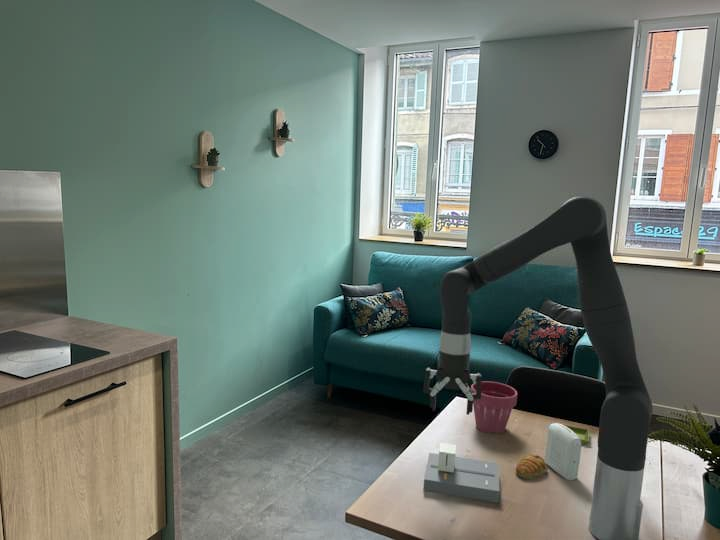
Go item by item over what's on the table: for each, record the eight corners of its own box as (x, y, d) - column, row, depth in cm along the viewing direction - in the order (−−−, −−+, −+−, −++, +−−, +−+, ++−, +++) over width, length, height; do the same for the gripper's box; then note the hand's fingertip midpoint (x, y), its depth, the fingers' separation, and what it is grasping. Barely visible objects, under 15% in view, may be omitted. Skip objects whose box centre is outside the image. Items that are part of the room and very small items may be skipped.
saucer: (588, 447, 159) (589, 440, 159) (557, 440, 163) (558, 434, 162) (588, 435, 167) (589, 429, 167) (559, 429, 171) (559, 423, 170)
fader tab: (454, 463, 138) (456, 444, 138) (453, 472, 134) (455, 454, 133) (439, 460, 139) (440, 442, 138) (437, 470, 134) (439, 451, 134)
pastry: (532, 484, 137) (533, 470, 136) (508, 473, 142) (509, 460, 141) (548, 472, 144) (550, 458, 143) (525, 462, 148) (527, 449, 148)
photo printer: (580, 479, 140) (585, 435, 138) (566, 481, 139) (571, 436, 137) (555, 460, 150) (559, 418, 148) (542, 461, 148) (546, 419, 147)
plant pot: (521, 428, 170) (525, 389, 168) (500, 442, 159) (504, 401, 157) (481, 414, 179) (484, 377, 177) (459, 426, 169) (462, 387, 167)
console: (496, 473, 141) (497, 462, 140) (498, 502, 127) (499, 490, 127) (428, 463, 145) (429, 452, 144) (423, 490, 131) (424, 478, 131)
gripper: (424, 350, 130) (420, 413, 132) (484, 356, 127) (479, 420, 129) (427, 342, 137) (423, 402, 139) (484, 347, 134) (479, 409, 136)
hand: (450, 411), depth 134 cm, fingers open, 8 cm apart
